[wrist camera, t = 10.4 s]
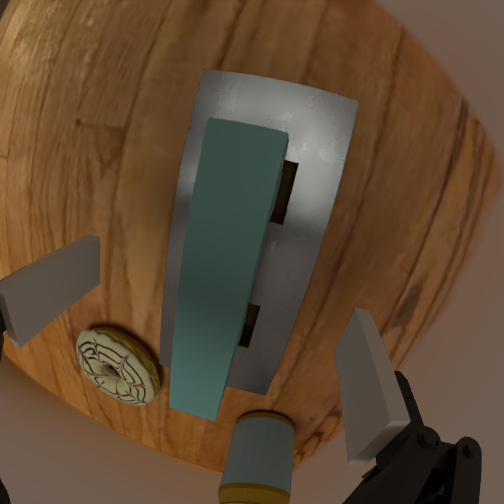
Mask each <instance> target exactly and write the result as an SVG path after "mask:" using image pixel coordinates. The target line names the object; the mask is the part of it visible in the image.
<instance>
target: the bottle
mask: <svg viewBox="0 0 504 504" xmlns="http://www.w3.org/2000/svg"><path fill="white" fill-rule="evenodd" d="M293 452H294V426H293V425H292V423H291V422H290V421H289V420H287V419H286V418H285V417H283V416H281V415H279V414H276V413H272V412H253V413H250V414H247V415H245V416H243V417H241V418H240V419H239V420H237V422H236V425H235V428H234V431H233V435H232V439H231V443H230V447H229V451H228V455H227V459H226V463H225V467H224V471H223V475H222V479H221V482H220V486H219V491H218V497H219V503H220V504H288V503H289V501H290V493H291V480H292V467H293Z"/></svg>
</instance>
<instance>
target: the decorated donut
mask: <svg viewBox="0 0 504 504" xmlns="http://www.w3.org/2000/svg"><path fill="white" fill-rule="evenodd" d="M76 351H77V356H78V360H79V363H80V365H81V367H82V370H83V372H84V374H85V375H86V377H87V378H88V379H89V380H90V381H91V382H92V383H93V384H95V385H96V386H97V387H98V388H99V389H101V390H102V391H103V392H104V393H106V394H107V395H108V396H110V397H112V398H114V399H117V400H119V401H121V402H123V403H126V404H131V405H138V406H142V405H146V404H147V403H149V402H151V401H152V400H153V399H154V398H155V396H156V394H157V393H158V391H159V389H160V381H159V376H158V370H157V367H156V365H155V362H154V360H153V359H152V357H151V355H150V354H149V353H148V351H147V350H146V349H145V348H144V347H143V345H142V344H141V343H140V342H138V341H136V340H135V339H134V338H132V337H131V336H129V335H128V334H126V333H125V332H123V331H120V330H118V329H115V328H111V327H98V328H94V329H91V330H90V329H87V328H86V329H83V330H82V331H81V333H80V335H79V338H78V340H77V346H76Z"/></svg>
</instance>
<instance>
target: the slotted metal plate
mask: <svg viewBox="0 0 504 504" xmlns="http://www.w3.org/2000/svg"><path fill="white" fill-rule="evenodd" d="M358 103H359V101H357V100H354V99H351V98H347V97H344V96H341V95H338V94H335V93H331V92H328V91H324V90H321V89H317V88H313V87H309V86H305V85H301V84H297V83H292V82H288V81H283V80H278V79H273V78H268V77H262V76H257V75H250V74H244V73H236V72H229V71H220V70H210V69H203V73H202V77H201V80H200V84H199V88H198V91H197V95H196V99H195V103H194V107H193V111H192V116H191V120H190V124H189V129H188V133H187V138H186V143H185V147H184V152H183V157H182V162H181V168H180V173H179V178H178V184H177V190H176V196H175V202H174V208H173V215H172V222H171V229H170V236H169V244H168V252H167V261H166V270H165V280H164V291H163V303H162V317H161V335H160V359H159V364H161V365H164V366H167V367H169V368H171V360H172V347H173V335H174V324H175V313H176V304H177V295H178V286H179V278H180V270H181V263H182V256H183V249H184V242H185V235H186V229H187V223H188V217H189V211H190V205H191V199H192V194H193V188H194V183H195V178H196V173H197V167H198V163H199V158H200V153H201V148H202V144H203V139H204V135H205V130H206V126H207V122H208V117H212V118H219V119H225V120H231V121H236V122H242V123H247V124H252V125H257V126H262V127H267V128H271V129H275V130H280V131H284V132H288V135H289V144H288V148H287V152H286V156H285V160H287V161H291V162H295V163H298V164H297V168H296V172H295V176H294V180H293V184H292V188H291V192H290V196H289V200H288V204H287V207H286V211H285V215H284V216H282V215H278V214H274V213H272V215H271V218H270V220H269V224H268V228H267V232H266V236H265V240H264V244H263V248H262V252H261V256H260V260H259V264H258V268H257V271H256V275H255V279H254V283H253V287H252V291H251V295H250V299H249V302H248V303H250V304H254V305H258V306H260V307H259V310H258V314H257V317H256V321H255V324H254V327H250V326H246V325H244V327H243V331H242V334H241V337H240V340H239V344H238V347H237V350H236V354H235V357H234V360H233V363H232V367H231V371H230V375H229V378H228V382H227V385H226V386H229V387H233V388H237V389H240V390H244V391H248V392H252V393H257V394H261V395H265V396H266V394H267V391H268V389H269V387H270V384H271V382H272V379H273V377H274V375H275V372H276V370H277V367H278V365H279V362H280V360H281V357H282V355H283V352H284V350H285V347H286V344H287V342H288V339H289V337H290V334H291V331H292V329H293V326H294V323H295V321H296V318H297V315H298V312H299V310H300V307H301V304H302V301H303V298H304V295H305V293H306V290H307V287H308V284H309V281H310V278H311V275H312V272H313V269H314V266H315V263H316V260H317V257H318V254H319V250H320V247H321V244H322V241H323V238H324V234H325V231H326V228H327V224H328V221H329V218H330V214H331V211H332V207H333V204H334V200H335V197H336V193H337V190H338V186H339V182H340V179H341V175H342V171H343V167H344V163H345V159H346V155H347V151H348V147H349V143H350V139H351V135H352V130H353V126H354V122H355V117H356V112H357V108H358Z"/></svg>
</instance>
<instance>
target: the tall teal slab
mask: <svg viewBox="0 0 504 504" xmlns="http://www.w3.org/2000/svg"><path fill="white" fill-rule="evenodd" d="M288 144H289V135H288V132H284V131H280V130H275V129H271V128H267V127H262V126H257V125H252V124H247V123H242V122H236V121H231V120H225V119H219V118H212V117H208V122H207V126H206V130H205V135H204V139H203V144H202V148H201V153H200V158H199V163H198V167H197V173H196V178H195V183H194V188H193V194H192V199H191V205H190V211H189V217H188V223H187V229H186V235H185V242H184V249H183V256H182V263H181V270H180V278H179V286H178V295H177V304H176V313H175V324H174V335H173V347H172V360H171V376H170V396H169V407H171V408H174V409H177V410H180V411H183V412H186V413H189V414H192V415H195V416H198V417H201V418H204V419H208V420H211V421H215V420H216V417H217V414H218V411H219V407H220V404H221V401H222V398H223V395H224V391H225V388H226V385H227V382H228V378H229V375H230V371H231V367H232V363H233V360H234V357H235V354H236V350H237V347H238V344H239V340H240V337H241V334H242V331H243V327H244V324H245V321H246V317H247V314H248V310H249V306H250V303H248V302H249V299H250V295H251V291H252V287H253V283H254V279H255V275H256V271H257V268H258V264H259V260H260V256H261V252H262V248H263V244H264V240H265V236H266V232H267V228H268V224H269V220H270V218H271V215H272V212H273V210H274V207H275V205H276V201H277V197H278V193H279V189H280V185H281V181H282V177H283V173H284V171H282V168H283V164H284V160H285V156H286V152H287V148H288Z"/></svg>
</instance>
